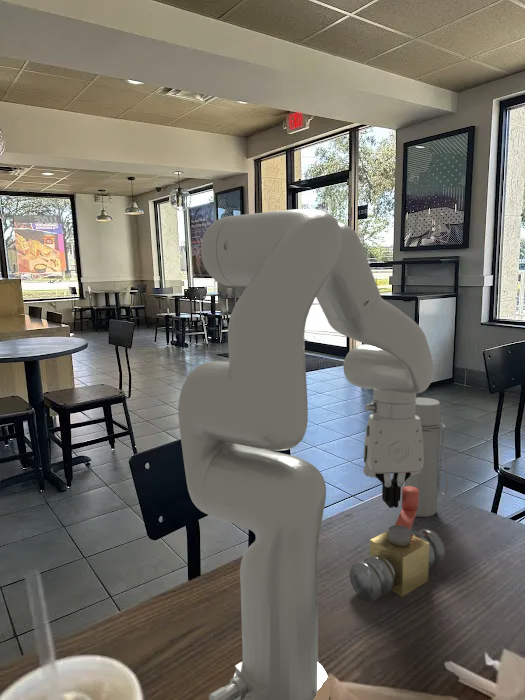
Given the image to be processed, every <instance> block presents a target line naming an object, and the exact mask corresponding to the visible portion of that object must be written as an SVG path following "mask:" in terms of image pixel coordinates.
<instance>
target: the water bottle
mask: <svg viewBox="0 0 525 700" xmlns="http://www.w3.org/2000/svg"><path fill="white" fill-rule="evenodd" d="M441 414H442V413H441V403H440V401H439V400H437V399H434V398H430V397H416V411H415V415H416V416H418V417H420V421H421V427H422V436H423V450H424V463H423V468H422V469H421V473H419V474H416V475H413V476H410V477H409V478H408V479H407V480H406V481H405V482H404V485H403V487H405V486H412V487H416V488H417V489H418V490H419V500H418V509H417V510H416V516H415V517H419V518H428V517H433V516H434V515H435V514H436V513H437V512H438V501H439V500H438V499H439V498H438V497H439V494H440V495H443V496H446V494H447V493H448V492H447V491H448V485H449V479H448V477H449V476H448V468H447V467H448V466H447V465H448V464H447V456H446V455H447V454H446V442H445V431H446V425H445V424H444V423H443V422H442V417H441ZM440 426H441V427H440ZM441 434H442V435H441ZM440 438H441V439H440ZM440 441H441V443H440ZM440 444H441V447H440ZM443 451H444V453H443ZM443 455H444V465H445V477H446V487H445V488H446V489H445V492H443V491H442V490H441V475H442V474H441V473H442V472H441V471H442V460H443V459H442V456H443ZM438 492H439V493H438Z"/></svg>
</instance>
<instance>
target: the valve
mask: <svg viewBox="0 0 525 700" xmlns="http://www.w3.org/2000/svg"><path fill="white" fill-rule="evenodd" d="M445 549H446V547H445V545H444V542H443V540H442V538H441V537H440V536H439V535H438V534H437V533H436V532H435V531H434V530H432V529H429V528H423V529H421V530H418V531H416V532H415V533H413V534H411V539H410V544H408V545H406V546H398V545H394V544H392V543H391V542H390V541H389V530H387V531H385V532H383V533H380V534H379V535H376V536H375V537H372V538H371V539H369V556H368V557H366V558H364V559H363V560H360V561H358V562H356V563H354V564H352V566H351V567H350V570H349V579H350V584H351V587H352V588H353V589H354V592H355V593H356V595H357V596H358V597H359V598H360V599H362V600H363V601H364V602H367V603H372V602H375V601H377V599H379V598H380V597H382V595H383V596H384V595H386V594H388V593H389V592H391V591H392V592H394V593H395V594H397V595H398V596H400V597H401V598H403V597H404V596H406V595H407V594H409V593H411V592H412V591H414V590H416V589H417V588H418V587H421V586H422V585H424V584H425V583H427V582H428V581H429V570H430V569H429V568H431V567H432V566H434V565H436V564H438V563H440V562H441V561H442V560H443V559H444V558H445V556H446V555H445V554H446V550H445Z"/></svg>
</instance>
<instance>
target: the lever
mask: <svg viewBox="0 0 525 700" xmlns="http://www.w3.org/2000/svg"><path fill="white" fill-rule="evenodd" d="M418 500H419V490H418V489H417V488H416V487H412V486H405V487H404V486H402V487H401V510H400V513H399V515H398V516H397V519H396V522H395V525H391V526H389V528H388V531H389V541H390V542H391V543H392V544H394V545H398V546H406V545H408V544H410V539H411V533H412V532H411V529H412V527H413V524H414V522H415V519H416V517H417V516H416V510H417V509H418Z"/></svg>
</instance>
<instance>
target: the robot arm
mask: <svg viewBox="0 0 525 700" xmlns="http://www.w3.org/2000/svg"><path fill="white" fill-rule="evenodd" d="M200 245H201V247H200V254H201V260H202V264H203V266H204V268H205V270H206V271H207V273H208V275H209V276H210V277H211V278H212V279H214V281H215V282H218V283H219V284H222V285H224V286H228V287H245V288H244V290H243V291H242V293H241V295H240V296H239V298H238V299H237V301H236V303H235V304H234V307H233V309H232V311H231V313H230V317H229V322H228V326H227V345H228V349H227V350H228V361H221V360H220V361H218V360H215V361H214V360H213V361H207V362H204V363H203V362H202V364H199V365H198V366H196V367H195V368H193V369H192V370H191V371H190V373H189V374H188V375H187V377H186V378H185V380H184V382H183V383H182V384H183V385H182V387H181V390H180V393H179V398H178V405H177V409H178V410H177V413H178V426H179V434H180V435H179V436H180V443H181V449H182V459H183V464H184V465H183V467H184V472H185V481H186V486H187V491H188V494H189V497H190V499H191V501H192V503H193V504H194V506H195V507H196V508H197V509H198V510H199V511H200V512H202V513H204V514H206V515H208V516H210V517H214V518H216V519H219V520H222V521H226V522H228V523H231V524H234V525H237V526H240V527H242V528H245V529H246V530H250V531H251V532H253V534H254V535H255V540H254V541H253V542H252V543H251V544H250V545H249V547H248V548H247V549H246V550H245V552H244V554H243V555H242V558H241V562H240V568H239V578H240V579H239V583H240V606H241V607H240V608H241V609H240V610H241V611H240V612H241V637H242V638H241V642H242V643H241V645H242V647H241V648H242V650H241V651H242V661H241V662H239V663H237V664H235V672H234V674H233V677H231V679H230V680H229V683H228V684H227V685H225V686H222V687H220V688H217V690H215V691H213V692H211V693H209V696H208V700H313V699H314V698H315V696H316V693H317V691H318V690H319V689H320V688H321V687H322V685H323V683H324V682H325V681H326V680H327V678H329V676H328V673H327V672H326V670H325V668H324V667H323V665H321V663H319V639H318V638H319V635H318V634H319V633H318V632H319V631H318V630H319V624H318V623H319V619H318V618H319V607H318V606H319V605H318V603H319V602H318V601H319V597H318V595H319V594H318V590H319V589H318V588H319V587H318V586H319V585H318V584H319V581H318V580H319V578H318V577H319V576H318V573H319V572H318V571H319V570H318V567H319V566H318V565H319V564H318V563H319V545H320V543H319V542H320V534H321V533H320V532H321V526H322V521H323V517H324V516H323V515H324V510H325V507H326V500H327V499H326V498H327V486H326V481H325V479H324V476H323V475H322V473H321V471H320V470H319V469H318V468H317V467H316V466H314V465H313V464H312V463H311V462H309V461H307V460H305V459H302V458H301V457H297V456H295V455H291V454H287V453H282V452H279V451H287V450H290V449H293V448H295V447H296V446H298V445H299V444H301V443H300V442H302V440H303V439H304V437H305V434H306V432H307V429H308V420H309V416H308V415H309V414H308V412H309V411H308V409H309V408H308V388H307V386H308V385H307V369H306V354H305V352H306V351H305V350H306V349H305V329H306V323H307V319H308V315H309V313H310V310H311V309H312V308H311V307H312V305H313V303H314V301H315V299H317V302H318V304H319V306H320V308H321V310H322V312H323V314H324V316H325V317H326V320H327V322H328V324H329V326H330V327H331V328H332V329H333V330H334V331H336V332H337V333H339V334H341V335H343V336H345V337H346V338H347V337H348V339H352V340H354V341H356V342H359V343H362V344H359V345H356V346H354V347H353V348H351V349H350V350H349V351H348V353H347V354H346V356H345V358H344V360H343V365H342V366H343V374H344V376H345V379H346V380H347V381H348V382H349V383H350V384H351V385H353V386H354V387H358V388H360V389H367V390H373V396H372V397H373V398H372V399H371V402H369V403H366V404H365V411H366V412H371V413H372V414H370V415H369V417H368V420H367V424H366V430H365V436H364V437H365V438H364V444H363V445H364V446H363V462H364V465H363V470H362V471H363V474H364V475H365V476H366V477H368V478H369V477H370V478H376V479H378V480H379V482H381V483H382V485H381V488H382V491H381V493H382V495H381V497H382V501H383V502H384V503H385V504H386V506H387V507H388V508H389V509H392V508H399V502H400V501H401V498H402V488H403V487H404V482H405V481H406V480H407V479H408V478H409V477H410V476H413V475H416V474H419V473H421V469H422V468H423V463H424V450H423V436H422V427H421V421H420V417H418V416H416V415H415V411H416V398H417V394H421V393H423V392H425V391H426V390H427V389H428V388H429V386H430V385H431V384H432V380H433V376H434V364H433V358H432V354H431V349H430V346H429V343H428V339H427V337H426V335H425V333H424V331H423V329H422V328H421V326H420V325H419V324H418V323H417V322H416V321H415V320H413V319H412V318H411V317H409V315H407V314H406V313H404V312H403V311H402V310H400V308H398V307H396V306H395V305H393V304H392V303H390V302H389V301H388V300H385V299H384V298H382V296H381V294H380V290H379V288H378V285H377V282H376V279H375V277H374V274H373V272H372V268H371V266H370V262H369V261H368V258H367V255H366V252H365V250H364V247H363V244H362V242H361V239H360V237H359V235H358V233H357V232H356V231H355V230H354V228H352V227H351V226H349V225H348V224H345V223H341V222H338V219H336V217H334V216H333V215H332V214H331V213H329V212H326V211H322V210H319V209H313V208H312V209H310V208H308V209H307V208H301V209H300V208H298V209H287V210H285V209H284V210H275V211H274V210H273V211H265V212H259V213H258V212H256V213H248V214H247V213H246V214H237V215H229V216H224V217H220V218H218V219H217V220H215V221H213V222H212V223H211V224H210V225H209V227H207V229H206V230H205V232H204V234H203V236H202V240H201V243H200ZM391 474H392V475H391Z"/></svg>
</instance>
